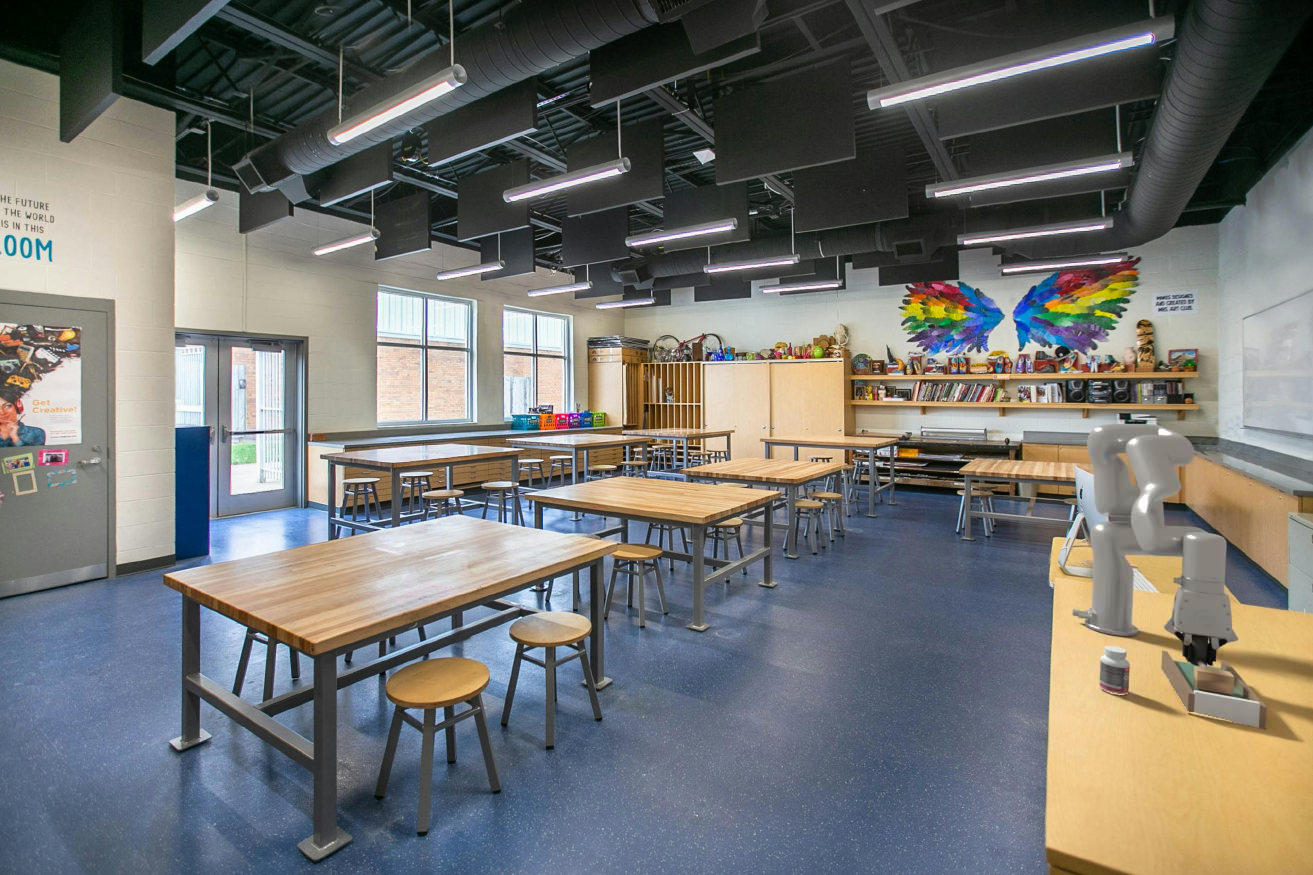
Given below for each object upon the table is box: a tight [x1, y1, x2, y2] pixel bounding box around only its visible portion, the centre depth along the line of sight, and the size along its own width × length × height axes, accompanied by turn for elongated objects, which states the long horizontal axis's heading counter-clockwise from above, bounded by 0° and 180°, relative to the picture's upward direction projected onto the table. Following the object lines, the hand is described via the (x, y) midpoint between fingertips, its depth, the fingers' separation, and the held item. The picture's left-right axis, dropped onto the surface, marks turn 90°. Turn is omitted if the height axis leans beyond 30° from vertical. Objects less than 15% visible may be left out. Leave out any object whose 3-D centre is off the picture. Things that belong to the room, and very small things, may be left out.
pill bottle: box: [1098, 645, 1131, 694], centre depth 138 cm, size 5×5×10 cm
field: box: [1160, 650, 1268, 730], centre depth 136 cm, size 12×26×5 cm, turn 150°
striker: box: [1191, 634, 1234, 695], centre depth 138 cm, size 6×15×8 cm, turn 150°
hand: (1198, 661), depth 143 cm, fingers closed on striker, 3 cm apart
